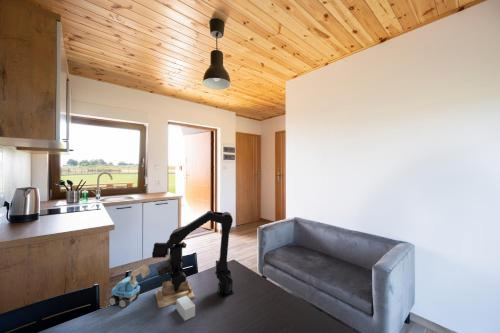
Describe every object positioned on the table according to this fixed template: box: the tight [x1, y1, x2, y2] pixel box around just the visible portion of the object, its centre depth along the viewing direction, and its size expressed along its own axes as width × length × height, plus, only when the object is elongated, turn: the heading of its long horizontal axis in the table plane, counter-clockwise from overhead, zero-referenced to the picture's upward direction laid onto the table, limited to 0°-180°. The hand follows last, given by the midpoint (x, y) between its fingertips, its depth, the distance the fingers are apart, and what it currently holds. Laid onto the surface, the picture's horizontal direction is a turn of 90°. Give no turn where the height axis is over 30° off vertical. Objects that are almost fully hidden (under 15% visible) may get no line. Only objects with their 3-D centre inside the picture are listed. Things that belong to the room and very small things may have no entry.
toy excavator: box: [108, 264, 151, 309], centre depth 98 cm, size 9×17×17 cm, turn 78°
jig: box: [155, 283, 196, 309], centre depth 103 cm, size 16×12×3 cm
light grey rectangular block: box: [175, 296, 196, 321], centre depth 92 cm, size 9×4×4 cm, turn 40°
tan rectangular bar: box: [161, 277, 189, 297], centre depth 103 cm, size 11×4×4 cm, turn 119°
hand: (175, 288), depth 103 cm, fingers closed on tan rectangular bar, 4 cm apart
